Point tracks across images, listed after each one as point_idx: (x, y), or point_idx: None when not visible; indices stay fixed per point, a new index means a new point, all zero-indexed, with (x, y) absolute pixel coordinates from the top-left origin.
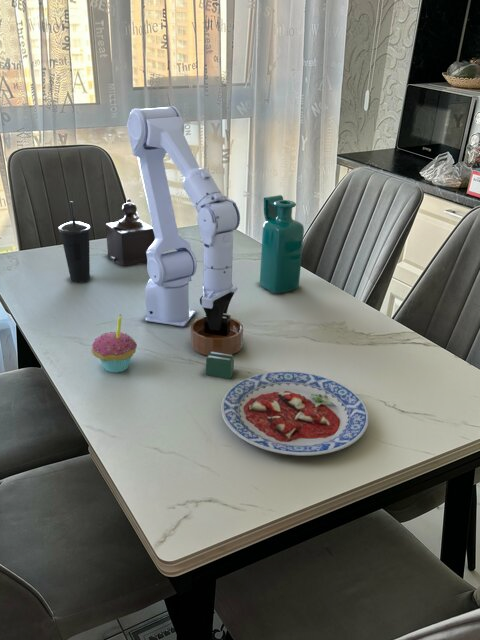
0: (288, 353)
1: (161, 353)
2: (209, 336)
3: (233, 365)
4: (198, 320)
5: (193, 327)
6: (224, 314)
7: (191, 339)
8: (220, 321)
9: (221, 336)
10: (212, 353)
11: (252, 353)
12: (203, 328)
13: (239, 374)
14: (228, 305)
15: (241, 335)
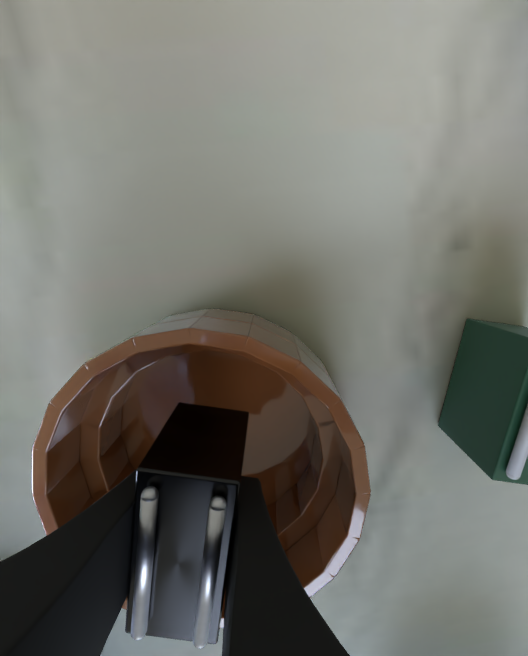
0: (221, 36)
1: (326, 617)
2: None
3: (507, 329)
4: None
5: None
6: (156, 522)
7: None
8: (274, 528)
9: (136, 421)
10: (518, 467)
11: (259, 248)
12: None
13: (477, 289)
14: (48, 551)
15: (238, 328)
